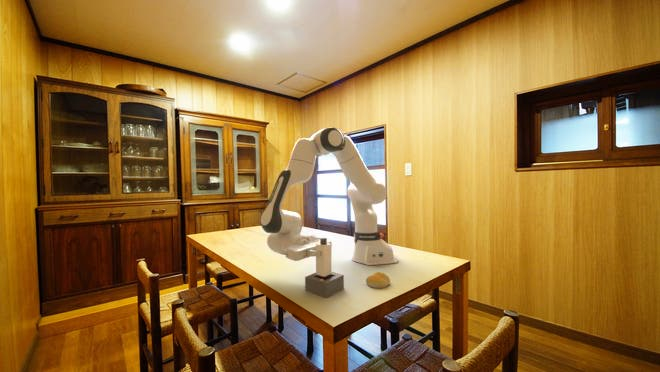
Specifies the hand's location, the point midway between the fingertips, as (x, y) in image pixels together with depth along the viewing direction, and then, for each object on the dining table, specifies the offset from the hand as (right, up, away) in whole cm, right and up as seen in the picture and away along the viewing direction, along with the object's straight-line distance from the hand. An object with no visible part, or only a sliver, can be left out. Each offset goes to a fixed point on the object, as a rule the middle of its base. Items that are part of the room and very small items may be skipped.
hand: (325, 252), depth 96 cm
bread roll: (+20, -14, +6) cm, 25 cm away
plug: (-1, -8, +1) cm, 8 cm away
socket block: (0, -14, +1) cm, 14 cm away
